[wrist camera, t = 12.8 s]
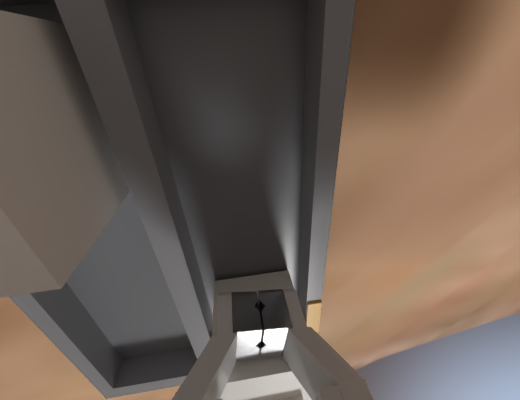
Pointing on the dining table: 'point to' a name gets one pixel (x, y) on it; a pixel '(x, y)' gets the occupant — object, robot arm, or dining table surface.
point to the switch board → (198, 171)
